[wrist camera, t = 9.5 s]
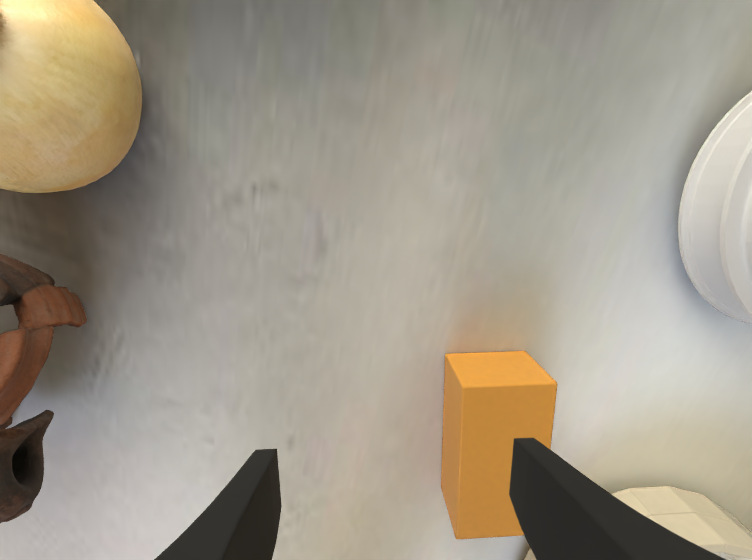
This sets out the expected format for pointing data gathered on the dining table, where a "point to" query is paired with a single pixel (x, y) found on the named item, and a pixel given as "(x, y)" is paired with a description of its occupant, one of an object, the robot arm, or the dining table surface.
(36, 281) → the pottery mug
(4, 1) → the onion
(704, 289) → the lid
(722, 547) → the bowl
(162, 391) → the dining table surface
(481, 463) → the orange rectangular block
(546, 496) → the robot arm
